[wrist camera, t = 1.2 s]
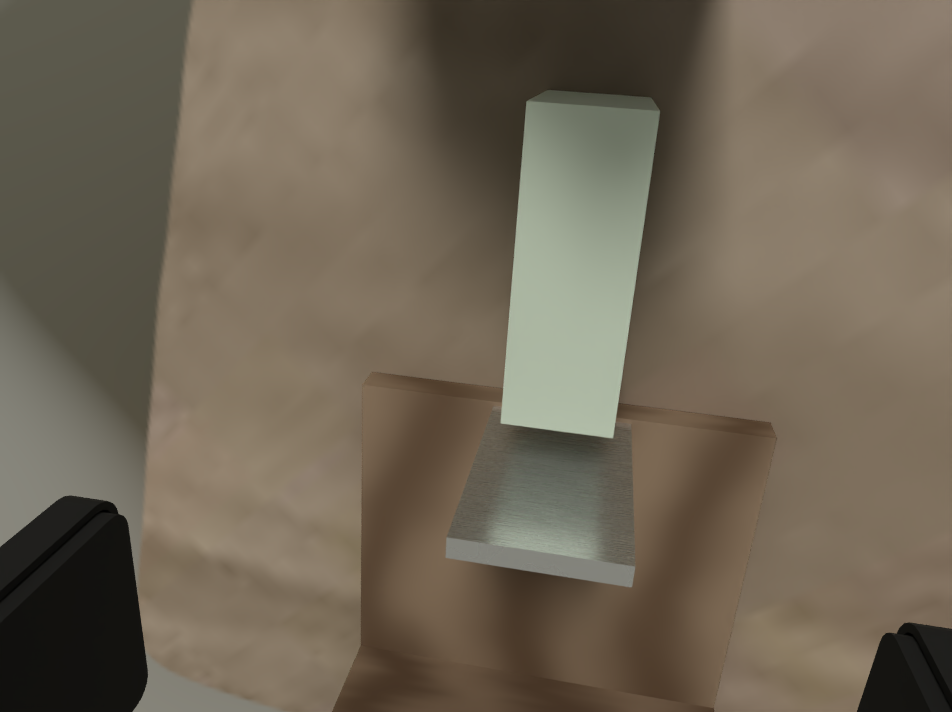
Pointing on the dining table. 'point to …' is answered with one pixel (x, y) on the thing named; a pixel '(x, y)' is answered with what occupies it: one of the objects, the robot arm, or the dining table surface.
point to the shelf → (547, 555)
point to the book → (576, 258)
